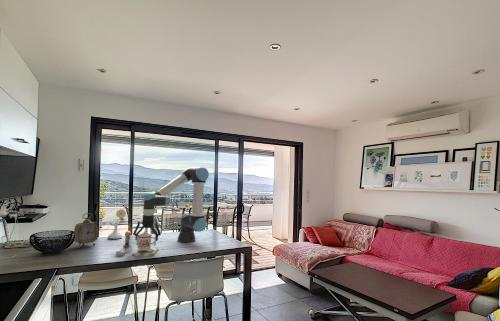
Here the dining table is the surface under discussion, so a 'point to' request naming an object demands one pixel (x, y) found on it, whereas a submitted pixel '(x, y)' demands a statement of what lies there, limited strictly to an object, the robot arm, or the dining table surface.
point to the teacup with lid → (144, 240)
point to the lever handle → (127, 239)
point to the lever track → (123, 251)
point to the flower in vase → (115, 233)
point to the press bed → (145, 252)
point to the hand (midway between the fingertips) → (146, 245)
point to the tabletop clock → (86, 231)
